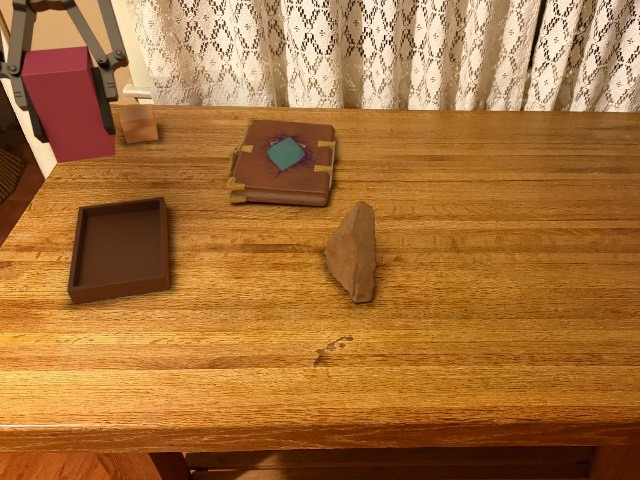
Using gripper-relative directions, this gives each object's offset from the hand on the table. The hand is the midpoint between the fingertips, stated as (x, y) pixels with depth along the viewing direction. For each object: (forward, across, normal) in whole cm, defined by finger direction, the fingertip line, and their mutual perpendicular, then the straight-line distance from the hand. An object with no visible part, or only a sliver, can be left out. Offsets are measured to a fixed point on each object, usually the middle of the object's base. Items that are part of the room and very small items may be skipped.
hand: (76, 134), depth 63 cm
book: (0, +25, +27) cm, 37 cm away
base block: (-11, +3, +38) cm, 39 cm away
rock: (+21, +27, +7) cm, 35 cm away
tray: (+11, 0, +16) cm, 19 cm away
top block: (0, 0, +5) cm, 5 cm away
